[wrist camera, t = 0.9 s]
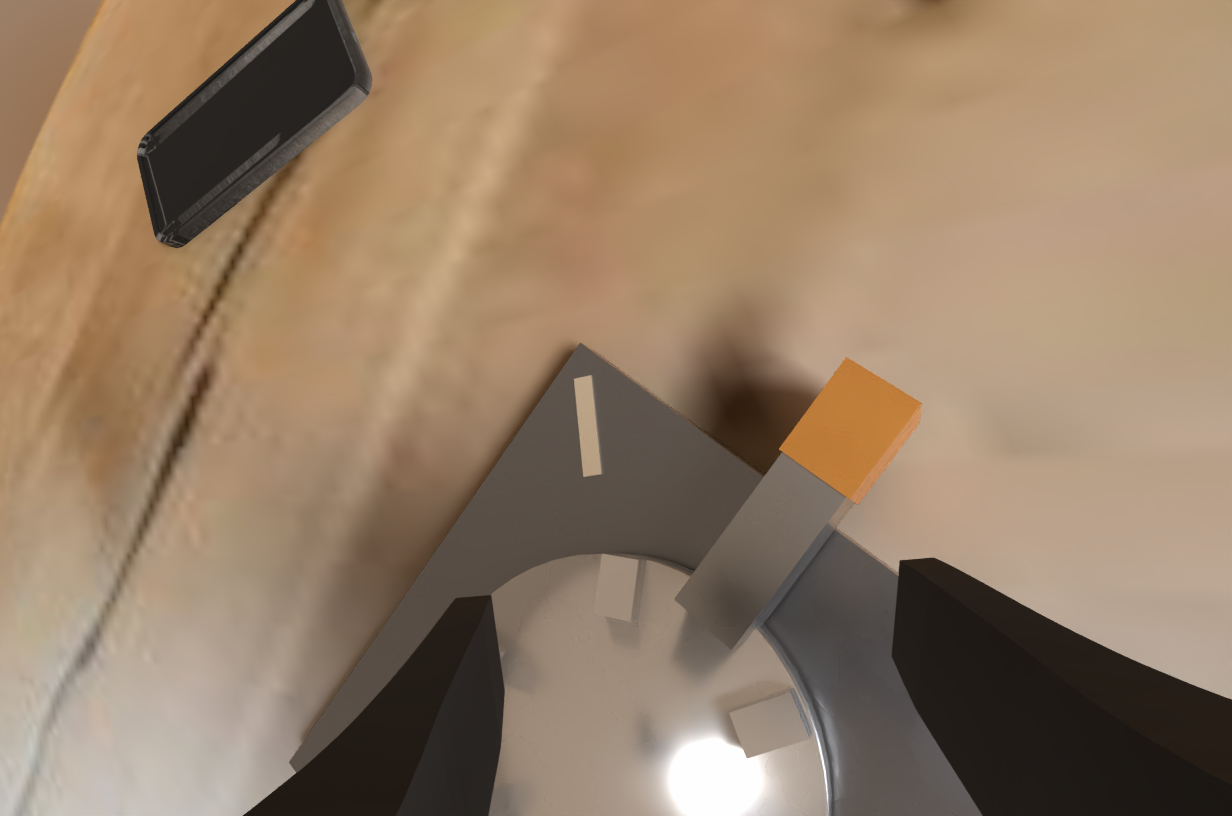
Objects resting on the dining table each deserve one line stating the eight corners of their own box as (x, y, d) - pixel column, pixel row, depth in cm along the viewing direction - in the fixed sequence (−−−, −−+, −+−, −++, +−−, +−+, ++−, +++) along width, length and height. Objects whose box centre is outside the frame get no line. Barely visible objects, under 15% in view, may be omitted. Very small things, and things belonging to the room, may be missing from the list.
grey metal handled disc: (1105, 539, 18) (1144, 538, 15) (652, 1108, 20) (608, 1209, 17) (716, 296, 24) (689, 260, 21) (385, 763, 25) (315, 793, 22)
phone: (134, 144, 40) (324, -26, 36) (153, 154, 41) (340, -11, 37) (158, 252, 37) (366, 81, 33) (178, 260, 38) (383, 95, 34)
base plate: (1125, 739, 19) (1143, 756, 17) (693, 1265, 21) (676, 1319, 19) (596, 352, 27) (579, 341, 26) (318, 751, 29) (287, 763, 27)
